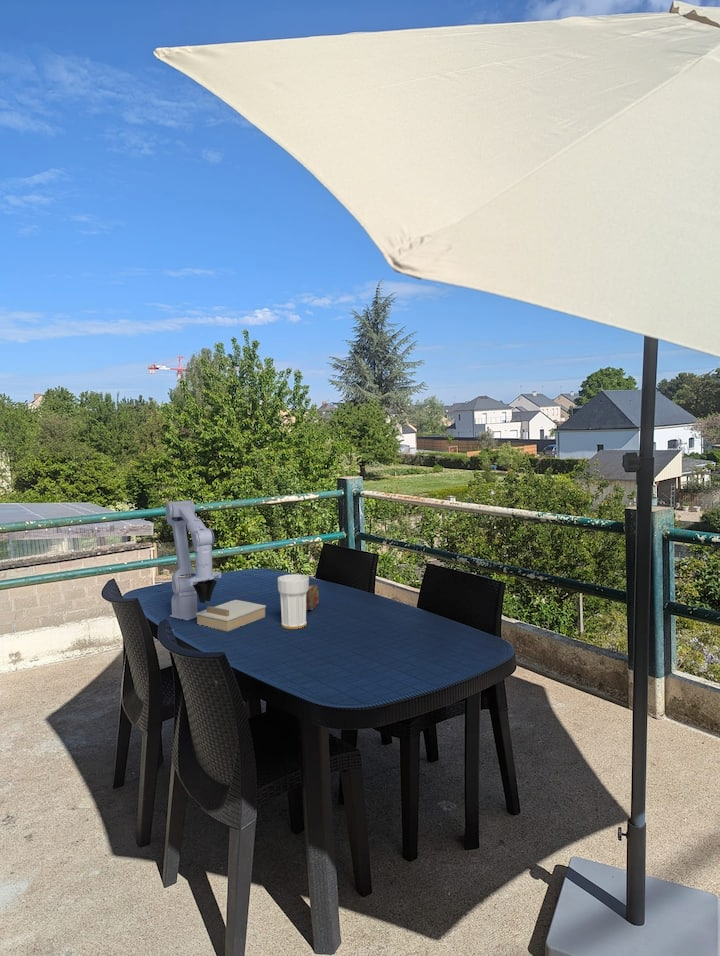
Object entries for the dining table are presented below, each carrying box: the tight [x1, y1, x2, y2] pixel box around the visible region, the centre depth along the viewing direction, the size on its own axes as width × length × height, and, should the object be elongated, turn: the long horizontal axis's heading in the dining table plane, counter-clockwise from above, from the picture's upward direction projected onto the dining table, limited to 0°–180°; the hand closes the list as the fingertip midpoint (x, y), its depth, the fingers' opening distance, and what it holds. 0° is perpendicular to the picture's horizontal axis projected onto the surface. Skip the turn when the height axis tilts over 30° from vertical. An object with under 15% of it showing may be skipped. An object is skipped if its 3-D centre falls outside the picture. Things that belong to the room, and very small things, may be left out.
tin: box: [306, 584, 320, 612], centre depth 259 cm, size 15×3×8 cm, turn 168°
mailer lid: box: [196, 599, 267, 621], centre depth 243 cm, size 16×20×3 cm
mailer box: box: [196, 607, 266, 632], centre depth 243 cm, size 15×20×4 cm
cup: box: [277, 573, 310, 630], centre depth 237 cm, size 11×11×17 cm
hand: (205, 601), depth 232 cm, fingers closed
